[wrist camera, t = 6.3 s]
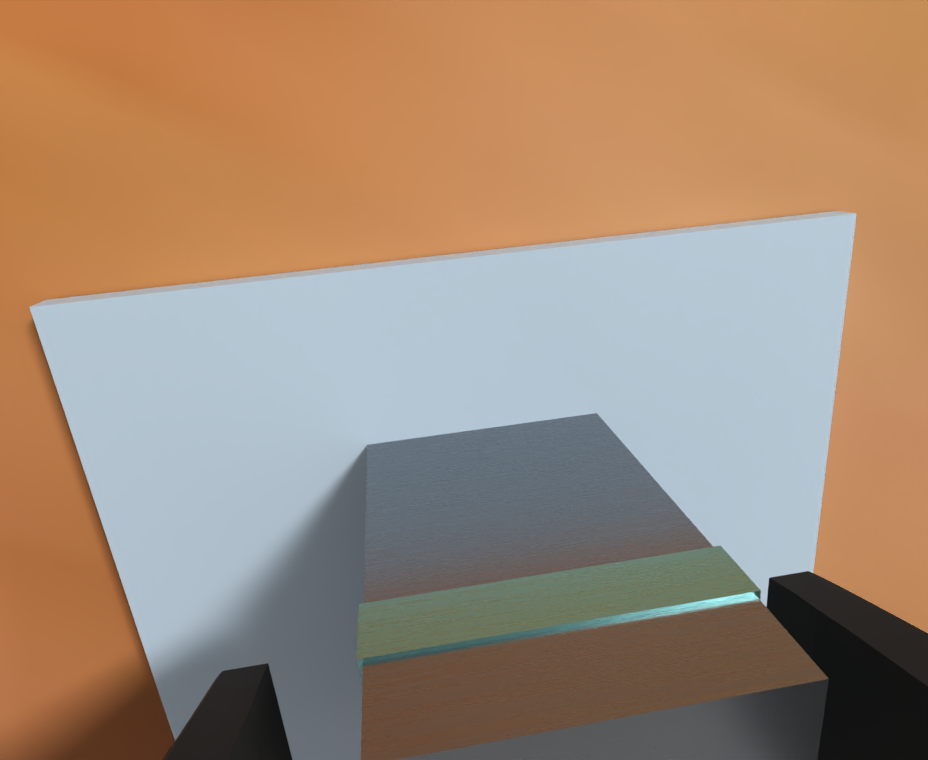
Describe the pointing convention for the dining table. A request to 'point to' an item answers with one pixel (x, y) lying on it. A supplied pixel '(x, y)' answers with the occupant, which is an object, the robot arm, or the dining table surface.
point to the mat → (431, 422)
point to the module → (562, 611)
